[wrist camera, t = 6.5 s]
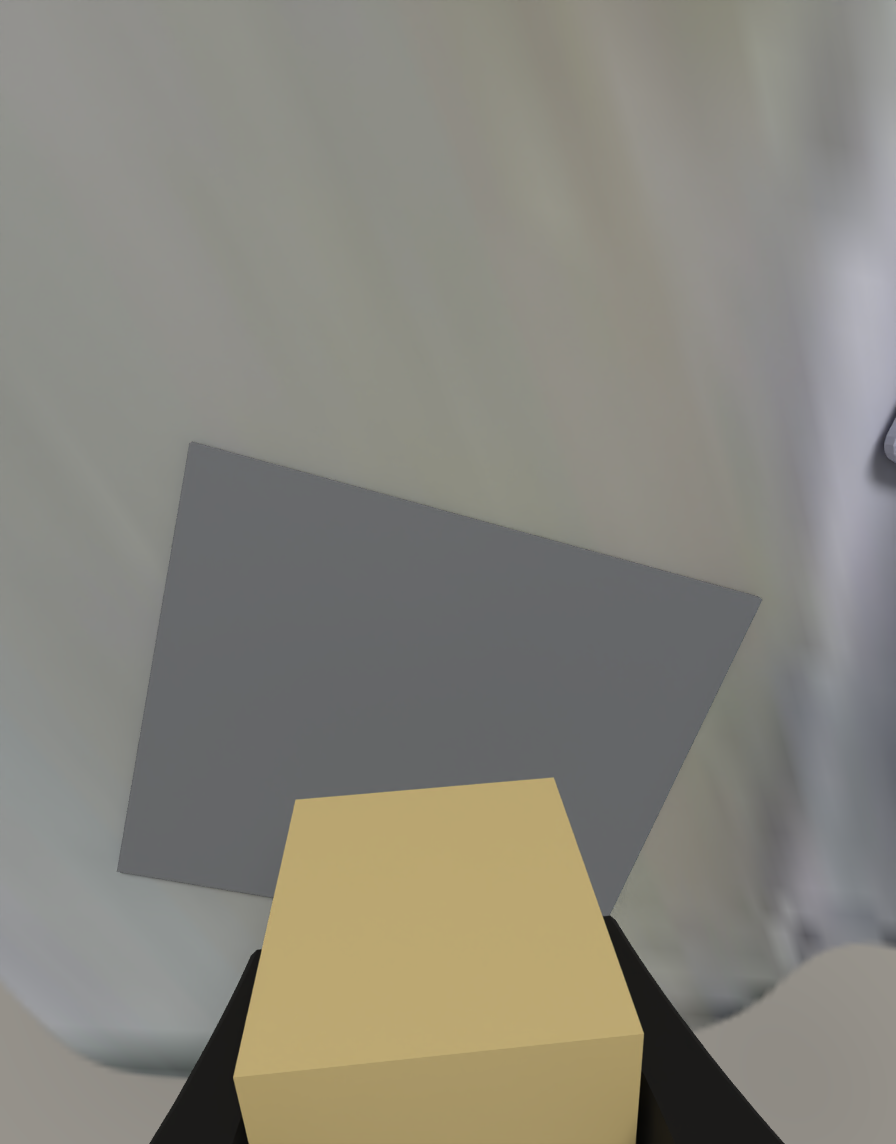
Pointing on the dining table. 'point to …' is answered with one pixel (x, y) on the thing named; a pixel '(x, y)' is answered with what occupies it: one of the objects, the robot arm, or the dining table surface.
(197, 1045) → the dining table surface
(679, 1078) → the robot arm
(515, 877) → the block
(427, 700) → the placemat
